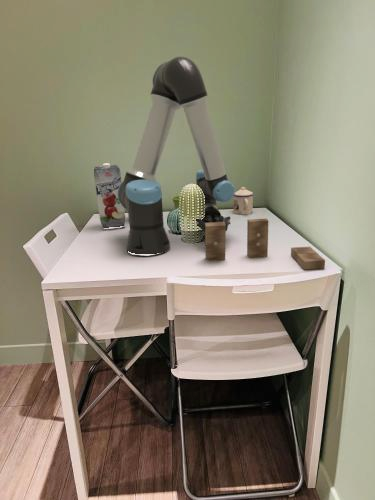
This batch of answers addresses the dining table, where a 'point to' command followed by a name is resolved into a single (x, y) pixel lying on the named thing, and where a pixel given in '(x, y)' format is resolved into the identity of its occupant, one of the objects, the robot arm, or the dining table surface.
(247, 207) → the teacup with lid
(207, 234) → the tile
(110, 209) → the juice carton
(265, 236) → the tile
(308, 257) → the tile
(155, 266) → the dining table surface
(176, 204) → the plant pot
